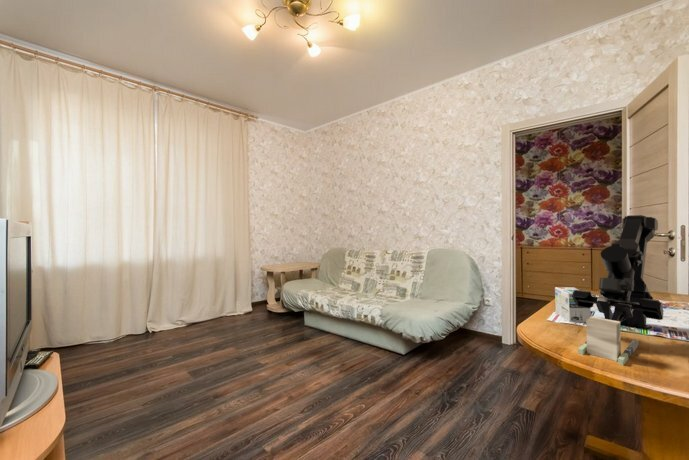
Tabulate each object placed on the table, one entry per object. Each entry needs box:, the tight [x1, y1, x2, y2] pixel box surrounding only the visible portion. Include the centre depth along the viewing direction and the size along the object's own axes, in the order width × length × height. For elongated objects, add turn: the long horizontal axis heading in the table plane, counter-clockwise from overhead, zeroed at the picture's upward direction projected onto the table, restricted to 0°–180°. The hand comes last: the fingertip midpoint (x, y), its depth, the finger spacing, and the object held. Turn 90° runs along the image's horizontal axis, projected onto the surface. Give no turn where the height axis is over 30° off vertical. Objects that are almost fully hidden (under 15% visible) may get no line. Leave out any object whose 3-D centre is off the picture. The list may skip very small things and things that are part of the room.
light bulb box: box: [554, 286, 592, 323], centre depth 109 cm, size 11×7×11 cm, turn 168°
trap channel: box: [577, 339, 639, 366], centre depth 83 cm, size 17×9×2 cm, turn 127°
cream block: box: [585, 316, 622, 362], centre depth 80 cm, size 4×6×9 cm, turn 37°
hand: (609, 330), depth 83 cm, fingers closed
